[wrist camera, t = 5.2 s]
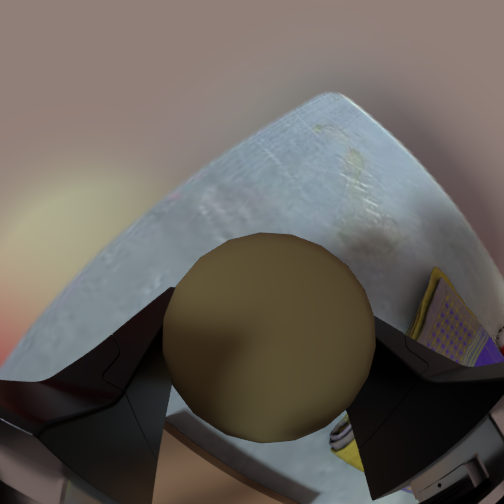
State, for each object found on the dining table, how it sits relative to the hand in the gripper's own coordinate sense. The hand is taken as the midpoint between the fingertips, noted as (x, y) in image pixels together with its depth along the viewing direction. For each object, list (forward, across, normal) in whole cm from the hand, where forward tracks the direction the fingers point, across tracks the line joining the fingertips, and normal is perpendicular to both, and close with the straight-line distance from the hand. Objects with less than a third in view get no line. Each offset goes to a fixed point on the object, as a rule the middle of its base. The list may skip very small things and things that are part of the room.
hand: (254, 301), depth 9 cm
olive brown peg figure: (+4, 0, +6) cm, 7 cm away
